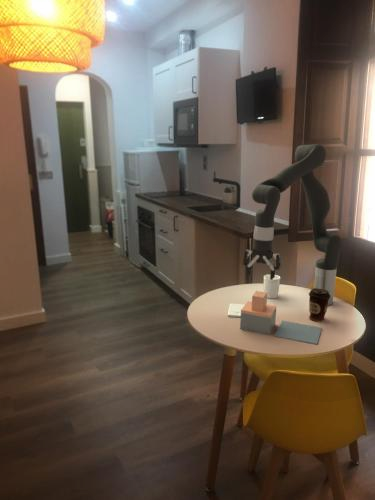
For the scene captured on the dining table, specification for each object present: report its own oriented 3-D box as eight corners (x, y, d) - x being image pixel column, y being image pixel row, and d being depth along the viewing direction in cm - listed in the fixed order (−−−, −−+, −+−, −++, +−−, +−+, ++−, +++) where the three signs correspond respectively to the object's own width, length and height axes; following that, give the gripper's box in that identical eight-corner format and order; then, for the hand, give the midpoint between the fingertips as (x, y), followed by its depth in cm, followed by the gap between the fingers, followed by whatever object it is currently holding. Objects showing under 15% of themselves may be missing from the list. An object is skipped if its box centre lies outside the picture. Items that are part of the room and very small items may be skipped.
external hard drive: (247, 308, 188) (246, 319, 176) (229, 306, 189) (227, 317, 178) (247, 304, 188) (246, 316, 176) (229, 303, 189) (227, 314, 177)
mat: (282, 321, 173) (282, 320, 173) (321, 328, 167) (321, 327, 167) (274, 336, 160) (274, 335, 160) (316, 344, 154) (316, 343, 154)
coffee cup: (316, 325, 170) (319, 295, 167) (302, 317, 178) (304, 289, 174) (331, 321, 174) (334, 292, 171) (317, 313, 181) (320, 286, 178)
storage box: (247, 319, 175) (247, 304, 173) (275, 324, 170) (276, 308, 168) (240, 328, 166) (240, 312, 164) (269, 334, 161) (270, 318, 160)
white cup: (260, 293, 205) (261, 274, 202) (275, 292, 205) (277, 273, 203) (265, 299, 197) (266, 279, 194) (281, 298, 198) (282, 279, 195)
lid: (247, 306, 173) (248, 287, 171) (276, 311, 169) (277, 292, 167) (240, 315, 165) (241, 295, 162) (270, 321, 160) (271, 301, 158)
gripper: (283, 237, 159) (280, 277, 163) (248, 233, 165) (246, 272, 169) (279, 241, 152) (276, 283, 157) (242, 237, 158) (240, 277, 162)
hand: (260, 277), depth 163 cm, fingers open, 8 cm apart
